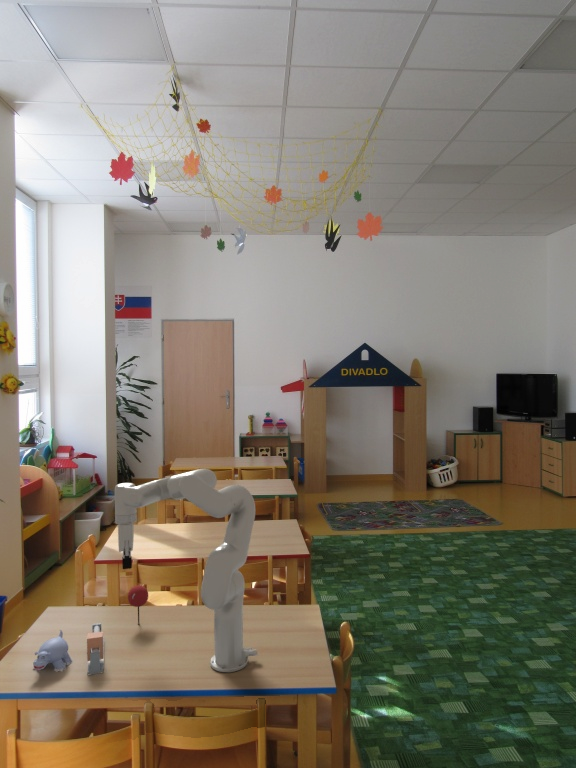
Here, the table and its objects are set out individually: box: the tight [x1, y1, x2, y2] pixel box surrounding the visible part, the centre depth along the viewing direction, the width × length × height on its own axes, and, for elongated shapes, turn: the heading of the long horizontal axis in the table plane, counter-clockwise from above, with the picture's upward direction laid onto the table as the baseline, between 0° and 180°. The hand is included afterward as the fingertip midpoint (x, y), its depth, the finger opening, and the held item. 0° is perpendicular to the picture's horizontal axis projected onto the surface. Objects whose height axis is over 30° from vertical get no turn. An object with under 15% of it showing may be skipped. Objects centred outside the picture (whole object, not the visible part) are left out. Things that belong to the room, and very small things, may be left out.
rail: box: [86, 622, 105, 676], centre depth 203 cm, size 5×23×7 cm, turn 16°
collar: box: [86, 630, 105, 662], centre depth 197 cm, size 5×4×8 cm
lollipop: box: [127, 585, 149, 625], centre depth 227 cm, size 8×8×15 cm
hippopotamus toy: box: [32, 629, 73, 672], centre depth 196 cm, size 11×15×10 cm
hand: (127, 567), depth 213 cm, fingers closed
